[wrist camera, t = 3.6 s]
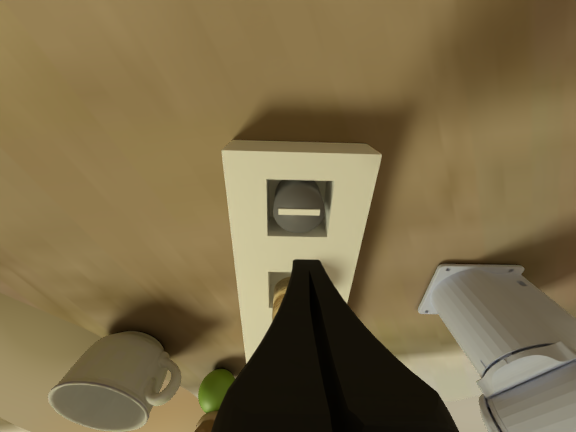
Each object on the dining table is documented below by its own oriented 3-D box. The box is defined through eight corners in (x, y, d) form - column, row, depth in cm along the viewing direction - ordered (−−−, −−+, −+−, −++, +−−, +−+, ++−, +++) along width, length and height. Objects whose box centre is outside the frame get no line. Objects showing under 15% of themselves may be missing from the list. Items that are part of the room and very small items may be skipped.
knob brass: (316, 276, 21) (320, 304, 18) (312, 305, 23) (316, 333, 20) (273, 275, 21) (271, 303, 18) (273, 304, 23) (272, 333, 20)
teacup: (114, 364, 35) (72, 433, 28) (83, 319, 29) (20, 390, 23) (205, 363, 35) (184, 431, 28) (189, 318, 30) (160, 389, 23)
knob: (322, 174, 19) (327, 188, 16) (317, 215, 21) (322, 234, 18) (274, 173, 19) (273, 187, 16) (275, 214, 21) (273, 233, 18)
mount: (366, 143, 19) (382, 154, 16) (328, 339, 32) (332, 365, 29) (232, 139, 18) (221, 150, 15) (250, 338, 32) (246, 365, 29)
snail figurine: (251, 372, 36) (237, 487, 26) (219, 382, 38) (194, 495, 27) (230, 356, 34) (205, 475, 23) (197, 367, 35) (161, 484, 25)
